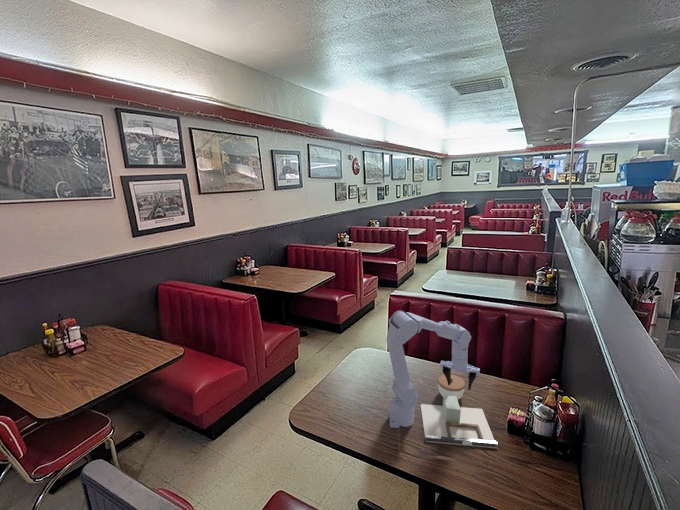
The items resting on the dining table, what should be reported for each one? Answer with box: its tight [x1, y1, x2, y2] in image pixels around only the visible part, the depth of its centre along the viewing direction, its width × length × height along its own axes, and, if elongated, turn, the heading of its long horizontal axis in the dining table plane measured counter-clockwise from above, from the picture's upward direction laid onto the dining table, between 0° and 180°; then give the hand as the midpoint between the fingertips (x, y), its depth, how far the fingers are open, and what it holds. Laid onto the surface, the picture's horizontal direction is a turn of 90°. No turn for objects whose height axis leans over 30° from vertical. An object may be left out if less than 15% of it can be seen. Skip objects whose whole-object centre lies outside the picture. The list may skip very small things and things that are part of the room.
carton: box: [442, 395, 461, 423], centre depth 129 cm, size 5×8×6 cm, turn 172°
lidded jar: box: [437, 374, 466, 401], centre depth 141 cm, size 11×11×9 cm
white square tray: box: [420, 403, 499, 449], centre depth 125 cm, size 24×20×2 cm
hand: (459, 386), depth 133 cm, fingers open, 7 cm apart
